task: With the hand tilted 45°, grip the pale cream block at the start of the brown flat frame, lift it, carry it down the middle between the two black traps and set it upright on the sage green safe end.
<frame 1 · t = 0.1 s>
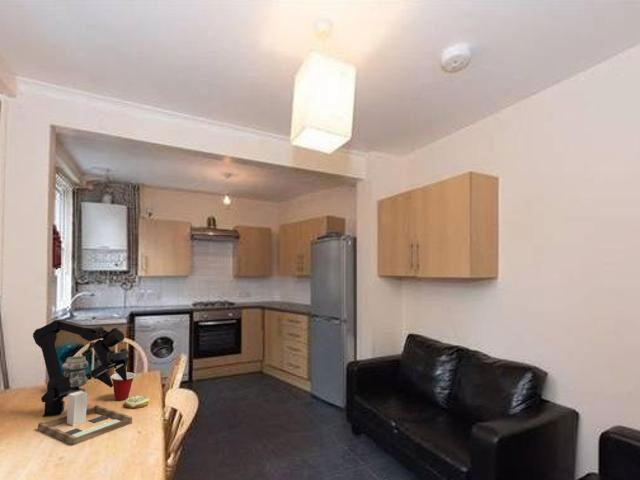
hand: (119, 383, 163), 15 cm above the table, tool tilted 30°, fingers open, 9 cm apart
safe end: (95, 430, 149), resting in brown flat frame
plastic cup: (121, 399, 185), on the table
brown flat frame: (86, 426, 153), on the table
pale cream block: (76, 422, 156), resting in brown flat frame
apothecary jar: (73, 392, 194), on the table
decorated donut: (137, 405, 178), on the table
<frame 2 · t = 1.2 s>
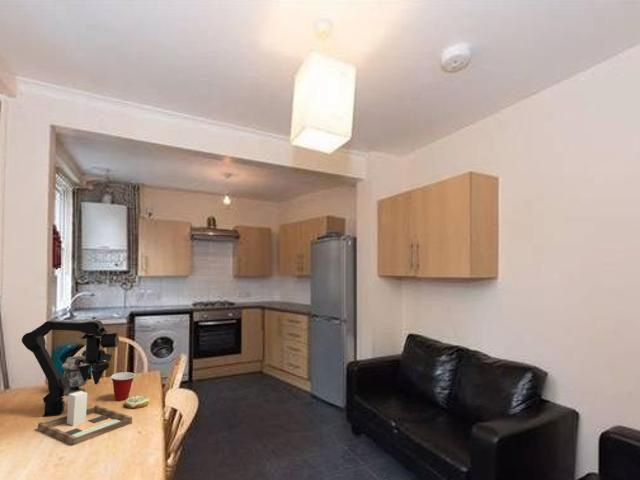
hand: (90, 382, 170), 13 cm above the table, tool pointing down, fingers open, 9 cm apart
nothing on the table moved.
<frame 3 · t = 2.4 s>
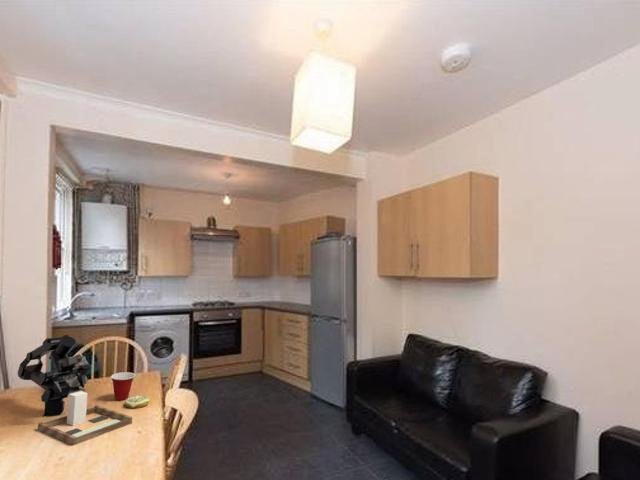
hand: (72, 390, 160), 13 cm above the table, tool tilted 45°, fingers open, 9 cm apart
nothing on the table moved.
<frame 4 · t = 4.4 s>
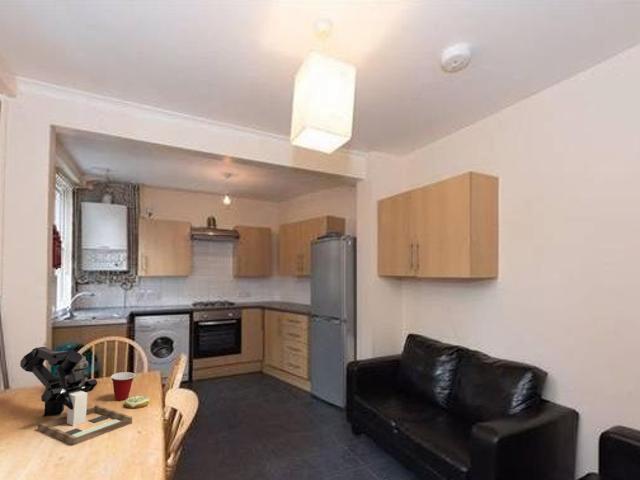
hand: (79, 407, 156), 7 cm above the table, tool tilted 45°, fingers closed on pale cream block, 5 cm apart
pale cream block: (76, 422, 156), resting in brown flat frame, touching gripper
everything else where it was.
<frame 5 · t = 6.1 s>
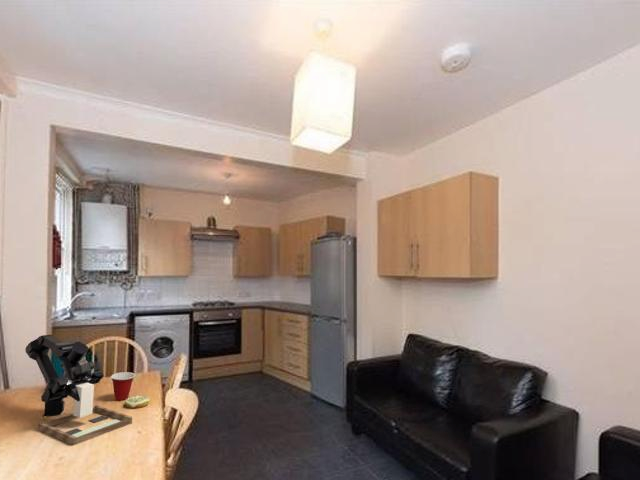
hand: (85, 398, 155), 11 cm above the table, tool tilted 45°, fingers closed on pale cream block, 5 cm apart
pale cream block: (82, 414, 155), point 4 cm above the table, touching gripper
everything else where it was.
when the fingers open (8 cm above the table, at t = 8.2 s): pale cream block stays where it is, resting on safe end.
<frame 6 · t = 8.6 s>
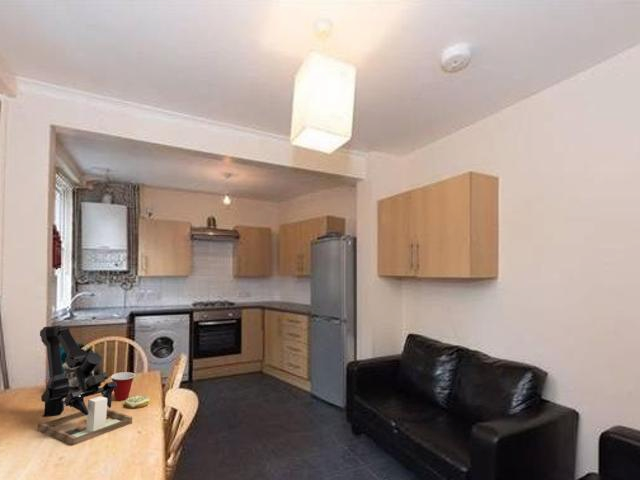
hand: (99, 410, 149), 8 cm above the table, tool tilted 45°, fingers open, 9 cm apart
pale cream block: (95, 429, 150), resting on safe end
everything else where it was.
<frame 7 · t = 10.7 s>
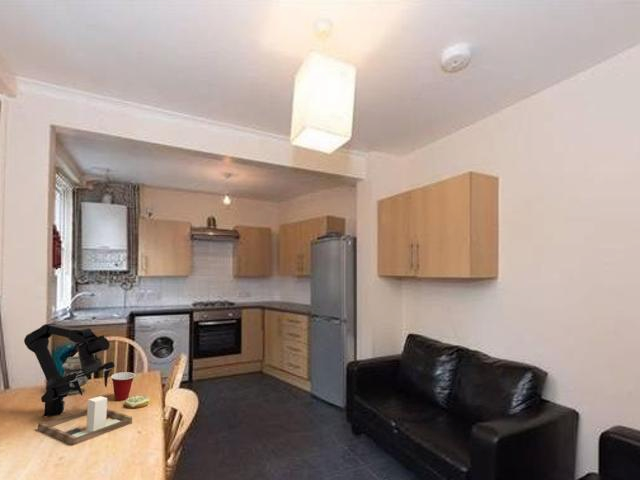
hand: (94, 391, 162), 11 cm above the table, tool tilted 20°, fingers open, 9 cm apart
nothing on the table moved.
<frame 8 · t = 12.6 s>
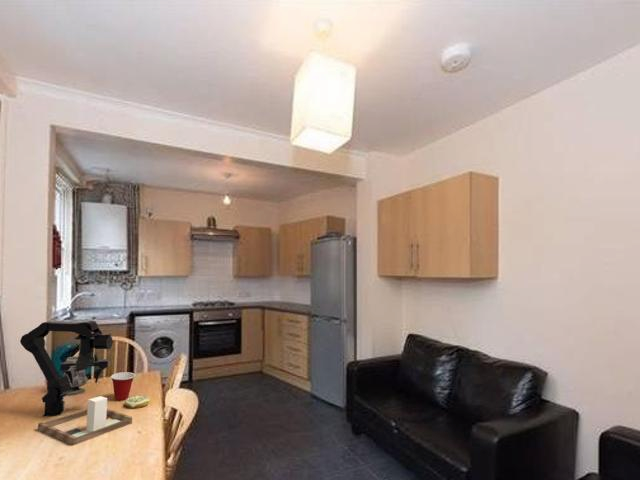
hand: (84, 384, 167), 13 cm above the table, tool pointing down, fingers open, 9 cm apart
nothing on the table moved.
at the end: pale cream block 0.0 cm from the safe end (horizontally); pale cream block tilted 0°; the gripper is holding nothing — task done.
